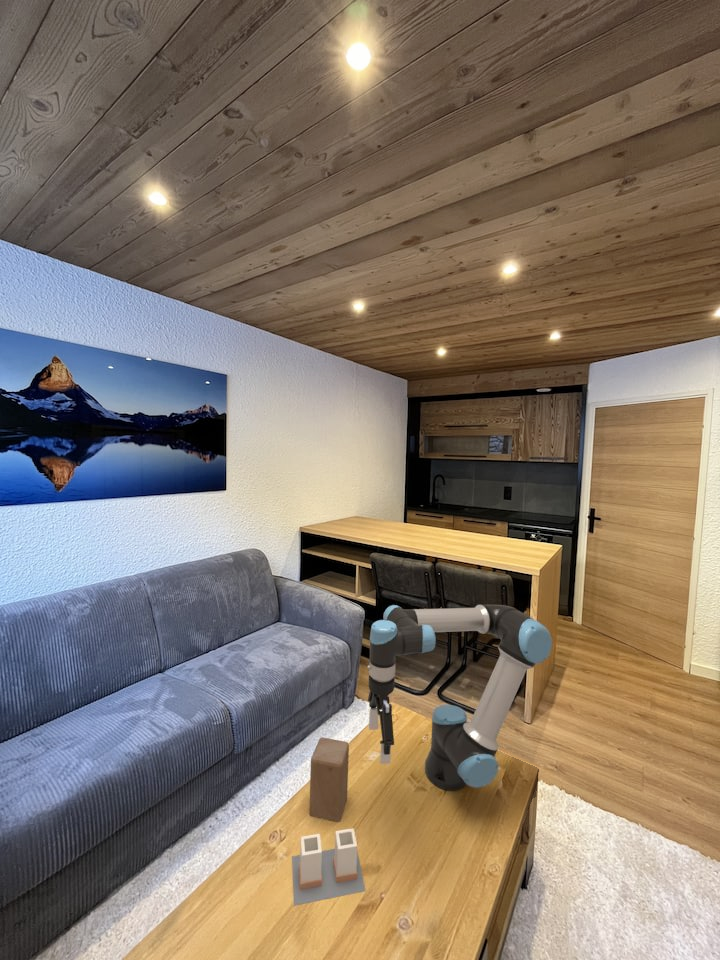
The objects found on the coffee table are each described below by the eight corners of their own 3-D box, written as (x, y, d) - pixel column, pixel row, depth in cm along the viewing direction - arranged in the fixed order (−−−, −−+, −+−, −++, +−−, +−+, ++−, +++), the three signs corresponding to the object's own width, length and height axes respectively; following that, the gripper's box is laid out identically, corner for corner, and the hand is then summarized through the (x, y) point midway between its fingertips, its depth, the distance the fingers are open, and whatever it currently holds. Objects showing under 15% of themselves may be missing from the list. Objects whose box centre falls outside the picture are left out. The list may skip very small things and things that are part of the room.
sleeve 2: (353, 857, 109) (354, 827, 109) (357, 878, 104) (358, 846, 103) (333, 861, 108) (334, 830, 107) (336, 882, 103) (337, 850, 102)
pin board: (356, 849, 113) (356, 825, 112) (365, 896, 101) (366, 869, 101) (291, 861, 109) (292, 836, 109) (293, 911, 97) (294, 882, 97)
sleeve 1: (319, 863, 107) (320, 832, 107) (321, 885, 102) (322, 853, 101) (299, 867, 106) (299, 836, 106) (300, 889, 101) (301, 856, 100)
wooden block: (340, 827, 119) (342, 764, 118) (308, 820, 121) (309, 758, 120) (347, 799, 129) (349, 740, 128) (318, 792, 131) (319, 735, 130)
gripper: (360, 654, 127) (357, 717, 129) (380, 703, 103) (377, 781, 104) (382, 652, 129) (380, 715, 130) (408, 700, 104) (404, 777, 106)
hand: (379, 744), depth 117 cm, fingers open, 13 cm apart
